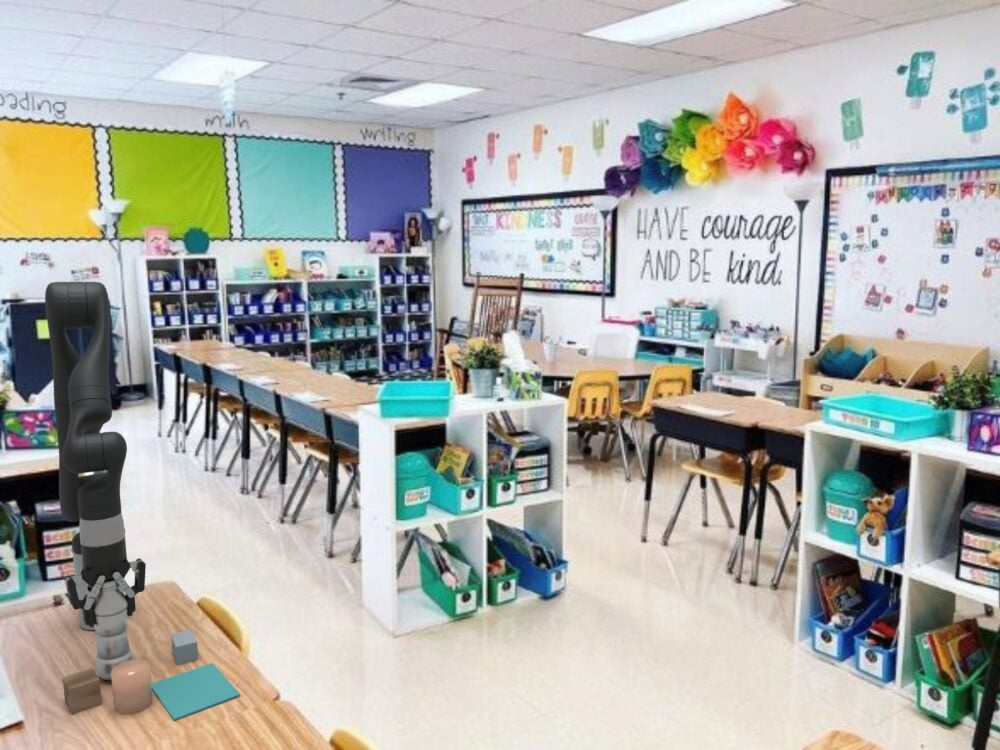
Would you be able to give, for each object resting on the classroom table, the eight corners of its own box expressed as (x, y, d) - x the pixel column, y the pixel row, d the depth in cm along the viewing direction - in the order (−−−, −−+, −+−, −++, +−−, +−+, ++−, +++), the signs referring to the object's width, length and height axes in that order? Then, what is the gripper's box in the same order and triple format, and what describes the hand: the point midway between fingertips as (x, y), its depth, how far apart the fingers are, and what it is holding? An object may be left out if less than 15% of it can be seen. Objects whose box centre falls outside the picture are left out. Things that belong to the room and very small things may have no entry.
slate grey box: (172, 652, 165) (170, 634, 164) (192, 646, 167) (191, 629, 166) (177, 665, 159) (175, 647, 159) (198, 660, 161) (197, 641, 161)
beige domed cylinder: (109, 702, 147) (106, 667, 146) (146, 689, 151) (143, 655, 150) (119, 718, 142) (116, 682, 141) (157, 705, 146) (154, 670, 145)
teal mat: (149, 686, 152) (149, 684, 152) (212, 664, 160) (212, 662, 159) (174, 720, 141) (174, 718, 141) (240, 696, 149) (240, 694, 149)
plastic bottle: (119, 686, 152) (112, 587, 148) (88, 682, 153) (79, 584, 150) (141, 668, 158) (134, 573, 154) (110, 664, 159) (103, 569, 156)
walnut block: (65, 702, 147) (62, 677, 146) (94, 692, 150) (92, 668, 149) (71, 715, 143) (68, 689, 142) (101, 704, 146) (99, 679, 145)
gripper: (137, 522, 158) (143, 602, 161) (55, 540, 149) (63, 624, 152) (149, 533, 152) (155, 616, 155) (64, 553, 143) (73, 639, 146)
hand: (110, 619), depth 153 cm, fingers closed on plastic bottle, 6 cm apart
